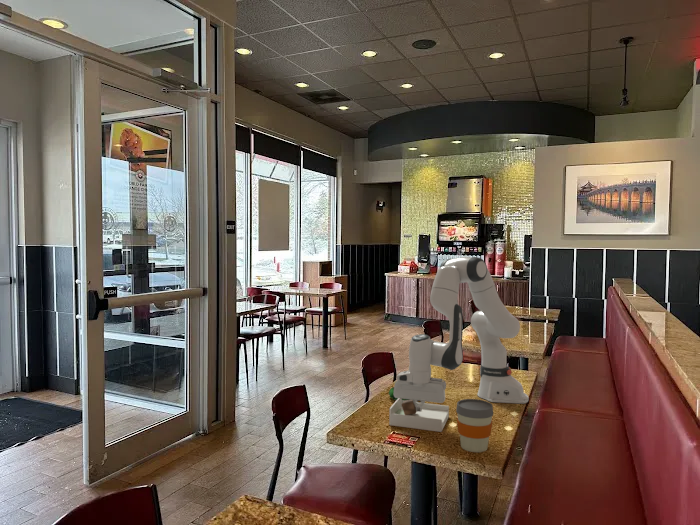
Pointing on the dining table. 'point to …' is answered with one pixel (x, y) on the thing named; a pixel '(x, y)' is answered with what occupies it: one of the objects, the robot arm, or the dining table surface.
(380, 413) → the dining table surface
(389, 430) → the dining table surface
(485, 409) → the reusable coffee cup
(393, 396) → the snack package
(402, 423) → the box
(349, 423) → the dining table surface
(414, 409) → the walnut cube
